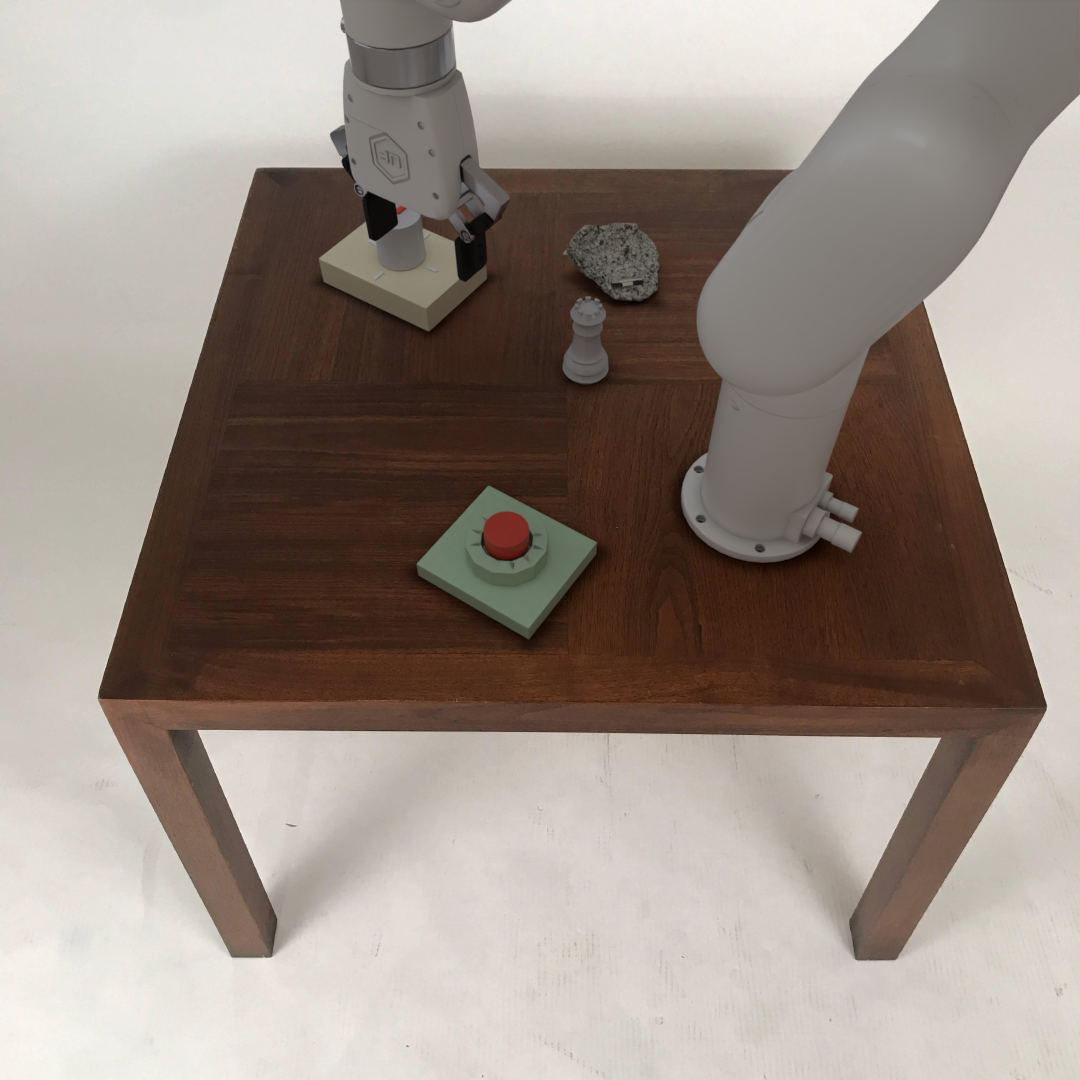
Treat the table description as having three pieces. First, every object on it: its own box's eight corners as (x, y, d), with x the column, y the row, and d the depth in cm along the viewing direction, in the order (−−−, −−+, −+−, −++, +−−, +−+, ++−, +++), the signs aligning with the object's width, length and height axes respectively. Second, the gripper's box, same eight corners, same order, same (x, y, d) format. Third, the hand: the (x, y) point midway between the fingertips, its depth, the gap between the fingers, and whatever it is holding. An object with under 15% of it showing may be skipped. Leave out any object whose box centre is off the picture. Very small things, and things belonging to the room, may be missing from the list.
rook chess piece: (604, 390, 93) (609, 324, 87) (558, 383, 94) (559, 318, 88) (611, 358, 96) (616, 292, 90) (566, 352, 97) (568, 286, 90)
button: (538, 537, 79) (537, 524, 78) (512, 567, 77) (511, 554, 76) (501, 517, 80) (500, 504, 79) (475, 547, 78) (474, 534, 77)
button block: (596, 554, 82) (598, 528, 79) (528, 640, 77) (528, 616, 74) (489, 497, 86) (487, 471, 83) (418, 575, 81) (413, 550, 78)
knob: (405, 277, 99) (399, 232, 95) (369, 260, 100) (361, 215, 96) (435, 252, 101) (430, 207, 97) (398, 236, 103) (392, 191, 99)
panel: (487, 278, 103) (486, 253, 101) (429, 332, 98) (426, 307, 96) (384, 233, 108) (380, 208, 106) (323, 282, 103) (317, 257, 101)
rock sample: (614, 297, 95) (606, 205, 95) (564, 312, 101) (556, 226, 101) (688, 302, 102) (681, 216, 101) (637, 315, 108) (630, 234, 107)
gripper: (276, 38, 71) (322, 239, 85) (465, 109, 65) (481, 313, 78) (346, -2, 75) (379, 197, 88) (531, 62, 68) (536, 265, 82)
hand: (427, 251), depth 83 cm, fingers open, 9 cm apart
